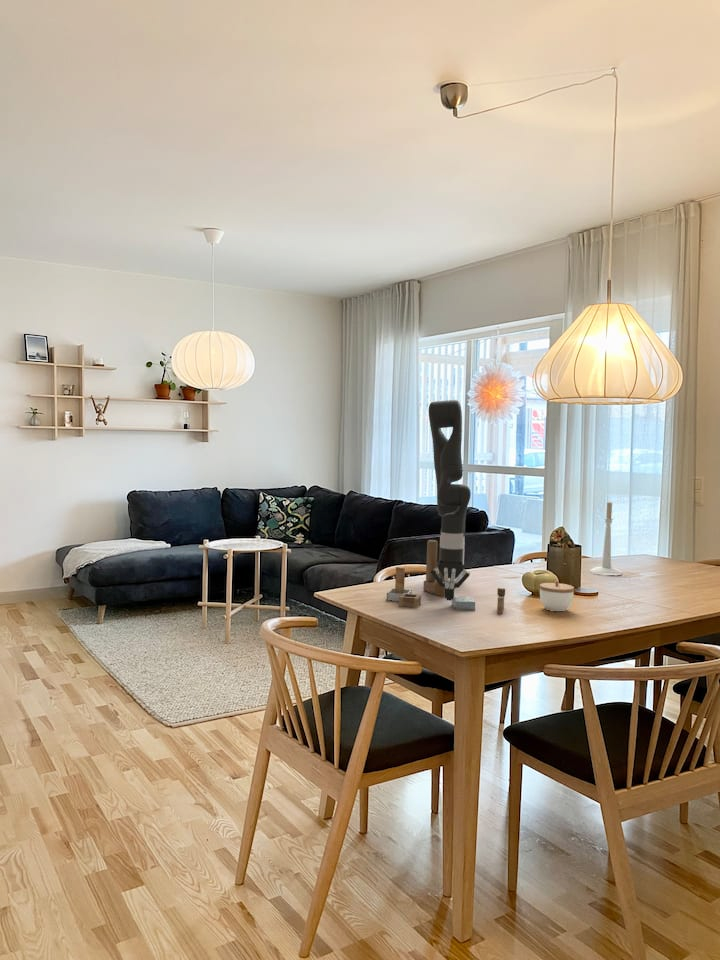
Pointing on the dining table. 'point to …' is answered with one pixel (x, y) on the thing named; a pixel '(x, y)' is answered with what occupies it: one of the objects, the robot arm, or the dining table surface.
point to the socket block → (410, 600)
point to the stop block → (500, 600)
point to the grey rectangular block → (463, 603)
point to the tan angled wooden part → (431, 582)
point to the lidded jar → (556, 596)
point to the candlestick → (607, 546)
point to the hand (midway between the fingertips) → (449, 599)
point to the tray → (394, 596)
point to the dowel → (399, 580)
